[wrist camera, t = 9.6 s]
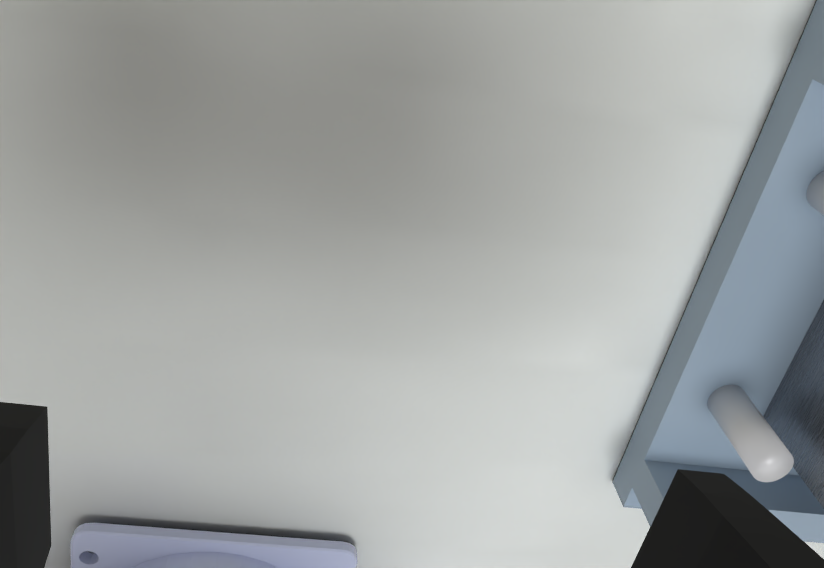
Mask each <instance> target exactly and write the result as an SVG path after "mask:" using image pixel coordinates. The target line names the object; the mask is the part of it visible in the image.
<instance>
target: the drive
mask: <svg viewBox="0 0 824 568" xmlns="http://www.w3.org/2000/svg"><path fill="white" fill-rule="evenodd" d="M763 417H764V418H765V420H766V421H767V422H768V424H769V425H770V426H771V428H772V429H773V430H774V432H775V433H776V434H777V436H778V437H779V439H780V440H781V441H782V443H783V444H784V445H785V447H786V448H787V449H788V451H789V452H790V453H791V455H792V456H793V459H794V464H793V468H794V469H795V470H796V472H797V473H798V474H799V476H800V477H801V479H802V480H803V481H804V483H805V484H806V485H807V487H808V488H809V489H810V491H811V492H812V494H813V495H814V496H815V498H816V499H817V500H818V502H819V503H820V504H821V506H822V507H823V509H824V300H823V302H822V303H821V305H820V307H819V309H818V311H817V313H816V315H815V317H814V319H813V321H812V323H811V325H810V327H809V329H808V330H807V332H806V334H805V336H804V338H803V340H802V342H801V344H800V346H799V348H798V350H797V352H796V354H795V356H794V358H793V359H792V361H791V363H790V365H789V367H788V369H787V371H786V373H785V375H784V377H783V379H782V381H781V383H780V385H779V386H778V388H777V390H776V392H775V394H774V396H773V398H772V400H771V402H770V404H769V406H768V408H767V410H766V412H765V413H764V415H763Z"/></svg>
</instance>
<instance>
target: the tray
mask: <svg viewBox="0 0 824 568" xmlns="http://www.w3.org/2000/svg"><path fill="white" fill-rule="evenodd" d="M823 300H824V0H817V2H816V4H815V6H814V9H813V11H812V13H811V16H810V18H809V20H808V23H807V25H806V27H805V30H804V32H803V35H802V37H801V39H800V42H799V44H798V46H797V49H796V51H795V53H794V56H793V58H792V60H791V63H790V65H789V67H788V70H787V72H786V75H785V77H784V79H783V82H782V84H781V86H780V89H779V91H778V93H777V96H776V98H775V100H774V103H773V105H772V108H771V110H770V112H769V115H768V117H767V119H766V122H765V124H764V126H763V129H762V131H761V133H760V136H759V138H758V141H757V143H756V145H755V148H754V150H753V152H752V155H751V157H750V159H749V162H748V164H747V166H746V169H745V171H744V173H743V176H742V178H741V181H740V183H739V185H738V188H737V190H736V192H735V195H734V197H733V199H732V202H731V204H730V206H729V209H728V211H727V214H726V216H725V218H724V221H723V223H722V225H721V228H720V230H719V232H718V235H717V237H716V239H715V242H714V244H713V246H712V249H711V251H710V254H709V256H708V258H707V261H706V263H705V265H704V268H703V270H702V272H701V275H700V277H699V279H698V282H697V284H696V287H695V289H694V291H693V294H692V296H691V298H690V301H689V303H688V305H687V308H686V310H685V312H684V315H683V317H682V319H681V322H680V324H679V327H678V329H677V331H676V334H675V336H674V338H673V341H672V343H671V345H670V348H669V350H668V352H667V355H666V357H665V360H664V362H663V364H662V367H661V369H660V371H659V374H658V376H657V378H656V381H655V383H654V385H653V388H652V390H651V392H650V395H649V397H648V400H647V402H646V404H645V407H644V409H643V411H642V414H641V416H640V418H639V421H638V423H637V425H636V428H635V430H634V433H633V435H632V437H631V440H630V442H629V444H628V447H627V449H626V451H625V454H624V456H623V458H622V461H621V463H620V465H619V468H618V470H617V473H616V475H615V477H614V480H613V484H614V486H615V489H616V491H617V493H618V496H619V498H620V500H621V502H622V505H623V507H629V508H641V509H642V510H643V512H644V514H645V516H646V518H647V521H648V523H649V525H650V527H651V525H652V523H653V520H654V518H655V516H656V514H657V512H658V510H659V508H660V506H661V504H662V501H663V499H664V497H665V495H666V493H667V491H668V489H669V487H670V484H671V482H672V480H673V478H674V476H675V474H676V472H677V470H678V469H681V470H692V471H702V472H712V473H722V474H725V475H726V476H728V477H729V478H730V479H731V480H733V481H734V482H735V483H736V484H738V485H739V486H740V487H741V488H743V489H744V490H745V491H746V492H747V493H749V494H750V495H751V496H752V497H753V498H755V499H756V500H757V501H758V502H759V503H760V504H762V505H763V506H764V507H765V508H766V509H767V510H769V511H770V512H771V513H772V514H773V515H774V516H775V517H777V518H778V519H779V520H780V521H781V522H782V523H783V524H784V525H786V526H787V527H788V528H789V529H790V530H791V531H792V532H793V533H795V534H796V535H797V536H798V537H799V538H800V539H801V540H802V541H807V542H818V543H824V509H823V507H822V506H821V504H820V503H819V502H818V500H817V499H816V498H815V496H814V495H813V494H812V492H811V491H810V489H809V488H808V487H807V485H806V484H805V483H804V481H803V480H802V479H801V477H800V476H799V474H798V473H797V472H796V470H795V469H794V468H793V464H794V459H793V456H792V455H791V453H790V452H789V451H788V449H787V448H786V447H785V445H784V444H783V443H782V441H781V440H780V439H779V437H778V436H777V434H776V433H775V432H774V430H773V429H772V428H771V426H770V425H769V424H768V422H767V421H766V420H765V418H764V417H763V415H764V413H765V412H766V410H767V408H768V406H769V404H770V402H771V400H772V398H773V396H774V394H775V392H776V390H777V388H778V386H779V385H780V383H781V381H782V379H783V377H784V375H785V373H786V371H787V369H788V367H789V365H790V363H791V361H792V359H793V358H794V356H795V354H796V352H797V350H798V348H799V346H800V344H801V342H802V340H803V338H804V336H805V334H806V332H807V330H808V329H809V327H810V325H811V323H812V321H813V319H814V317H815V315H816V313H817V311H818V309H819V307H820V305H821V303H822V302H823Z"/></svg>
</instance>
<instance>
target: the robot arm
mask: <svg viewBox="0 0 824 568" xmlns="http://www.w3.org/2000/svg"><path fill="white" fill-rule="evenodd" d="M50 547H51V524H50V488H49V453H48V417H47V407H44V406H34V405H24V404H14V403H4V402H0V568H44V566H45V563H46V560H47V557H48V553H49V550H50ZM70 548H71V568H356V567H357V550H356V548H355V547H354V546H353V545H352V544H350V543H347V542H342V541H329V540H316V539H303V538H289V537H276V536H263V535H250V534H237V533H224V532H210V531H197V530H184V529H171V528H158V527H144V526H131V525H118V524H105V523H84V524H82V525H79V526H78V527H77V528H76V529H75V531H74V533H73V536H72V539H71V542H70ZM87 551H91V552H94V553H89V552H87ZM631 568H824V559H823V558H821V557H820V556H819V555H818V554H817V553H816V552H815V551H814V550H812V549H811V548H810V547H809V546H808V545H807V544H806V543H805V542H804V541H802V540H801V539H800V538H799V537H798V536H797V535H796V534H795V533H793V532H792V531H791V530H790V529H789V528H788V527H787V526H786V525H784V524H783V523H782V522H781V521H780V520H779V519H778V518H777V517H775V516H774V515H773V514H772V513H771V512H770V511H769V510H767V509H766V508H765V507H764V506H763V505H762V504H760V503H759V502H758V501H757V500H756V499H755V498H753V497H752V496H751V495H750V494H749V493H747V492H746V491H745V490H744V489H743V488H741V487H740V486H739V485H738V484H736V483H735V482H734V481H733V480H731V479H730V478H729V477H728V476H726V475H725V474H722V473H712V472H702V471H692V470H681V469H678V470H677V472H676V474H675V476H674V478H673V480H672V482H671V484H670V487H669V489H668V491H667V493H666V495H665V497H664V499H663V501H662V504H661V506H660V508H659V510H658V512H657V514H656V516H655V518H654V520H653V523H652V525H651V527H650V529H649V531H648V533H647V535H646V537H645V540H644V542H643V544H642V546H641V548H640V550H639V552H638V554H637V556H636V559H635V561H634V563H633V565H632V567H631Z"/></svg>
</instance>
